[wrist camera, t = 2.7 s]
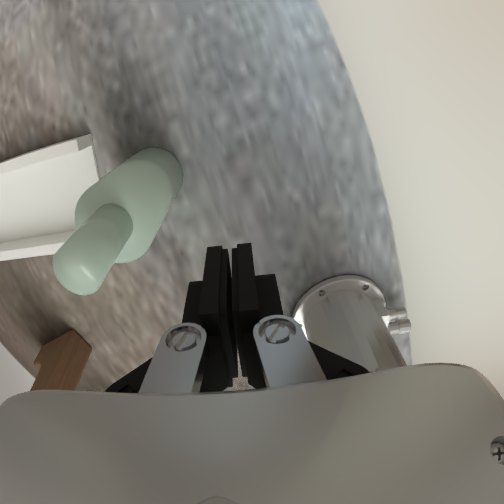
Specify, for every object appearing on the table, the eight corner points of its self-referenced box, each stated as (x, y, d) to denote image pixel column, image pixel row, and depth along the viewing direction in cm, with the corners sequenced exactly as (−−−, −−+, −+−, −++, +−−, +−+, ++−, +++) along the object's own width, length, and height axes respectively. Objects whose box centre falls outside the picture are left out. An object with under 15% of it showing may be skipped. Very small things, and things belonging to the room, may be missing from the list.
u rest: (91, 133, 28) (76, 139, 25) (113, 233, 33) (103, 248, 30) (-27, 172, 28) (-43, 181, 25) (-3, 250, 33) (-16, 263, 30)
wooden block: (61, 362, 43) (24, 451, 28) (42, 344, 41) (-1, 432, 26) (93, 348, 42) (55, 450, 26) (73, 327, 40) (25, 429, 24)
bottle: (178, 143, 29) (110, 209, 13) (186, 200, 32) (142, 315, 16) (121, 153, 29) (17, 226, 13) (132, 207, 32) (54, 317, 16)
